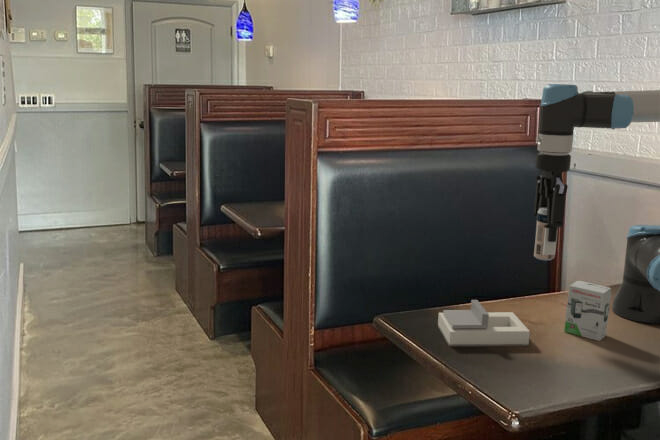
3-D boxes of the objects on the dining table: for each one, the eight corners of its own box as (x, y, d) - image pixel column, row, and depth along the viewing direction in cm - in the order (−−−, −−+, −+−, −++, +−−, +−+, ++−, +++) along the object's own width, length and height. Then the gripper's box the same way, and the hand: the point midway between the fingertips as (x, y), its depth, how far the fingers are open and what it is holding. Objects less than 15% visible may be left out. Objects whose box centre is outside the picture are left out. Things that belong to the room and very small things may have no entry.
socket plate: (511, 325, 166) (512, 312, 166) (528, 345, 155) (529, 331, 154) (437, 326, 165) (438, 312, 164) (449, 346, 154) (450, 331, 153)
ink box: (562, 331, 163) (567, 284, 161) (570, 326, 167) (575, 279, 164) (599, 341, 158) (605, 292, 155) (607, 335, 162) (612, 287, 159)
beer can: (555, 262, 160) (560, 211, 157) (534, 260, 161) (538, 210, 158) (553, 256, 165) (558, 207, 162) (532, 255, 166) (537, 206, 163)
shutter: (476, 313, 164) (477, 299, 163) (487, 328, 154) (488, 314, 154) (443, 313, 163) (443, 300, 163) (452, 328, 154) (453, 314, 153)
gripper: (525, 147, 166) (517, 241, 171) (552, 157, 148) (542, 261, 154) (555, 148, 166) (546, 241, 171) (586, 158, 149) (575, 262, 154)
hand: (544, 251), depth 162 cm, fingers closed on beer can, 5 cm apart
